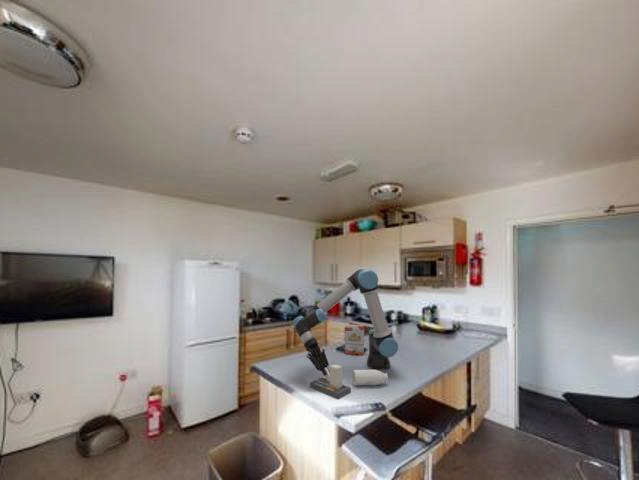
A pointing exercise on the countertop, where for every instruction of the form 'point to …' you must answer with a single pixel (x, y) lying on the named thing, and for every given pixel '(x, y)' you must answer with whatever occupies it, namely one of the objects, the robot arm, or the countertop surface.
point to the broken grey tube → (368, 377)
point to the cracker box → (354, 339)
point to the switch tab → (336, 376)
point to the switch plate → (329, 388)
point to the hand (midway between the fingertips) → (330, 380)
